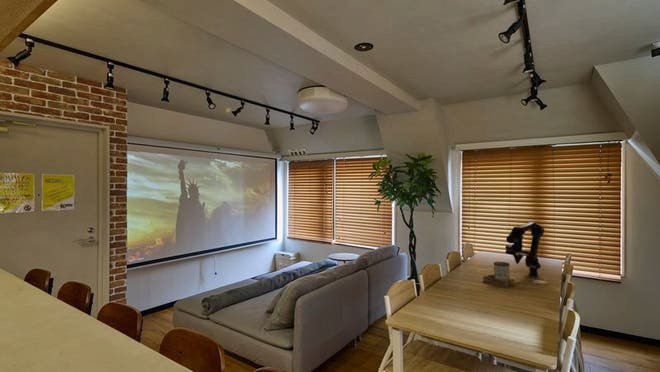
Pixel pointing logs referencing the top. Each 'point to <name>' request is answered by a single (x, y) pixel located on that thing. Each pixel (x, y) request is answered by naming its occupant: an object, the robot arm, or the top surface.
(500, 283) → the walnut holder
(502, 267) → the coffee can
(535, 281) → the cork mat
